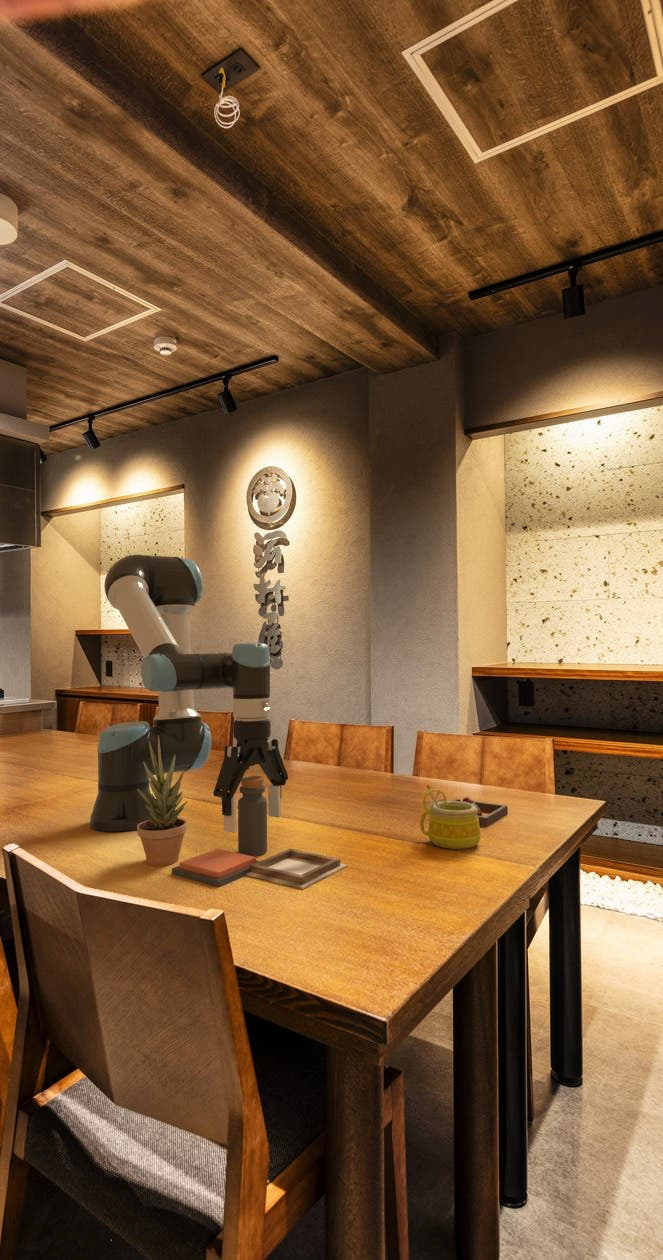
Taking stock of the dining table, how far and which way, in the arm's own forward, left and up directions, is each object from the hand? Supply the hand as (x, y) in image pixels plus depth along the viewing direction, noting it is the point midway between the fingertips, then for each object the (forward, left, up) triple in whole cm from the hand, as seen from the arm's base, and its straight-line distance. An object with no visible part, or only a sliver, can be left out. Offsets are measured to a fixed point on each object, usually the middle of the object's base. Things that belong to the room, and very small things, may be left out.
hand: (253, 824), depth 137 cm
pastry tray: (+26, +50, -6) cm, 57 cm away
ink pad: (+2, -12, -6) cm, 13 cm away
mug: (+31, +27, -6) cm, 41 cm away
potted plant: (-11, -14, -6) cm, 19 cm away
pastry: (+25, +49, -6) cm, 56 cm away
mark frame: (+14, -4, -6) cm, 15 cm away
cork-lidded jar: (0, 0, -6) cm, 6 cm away
